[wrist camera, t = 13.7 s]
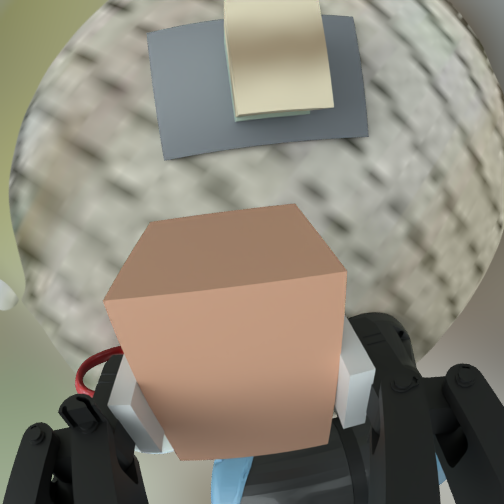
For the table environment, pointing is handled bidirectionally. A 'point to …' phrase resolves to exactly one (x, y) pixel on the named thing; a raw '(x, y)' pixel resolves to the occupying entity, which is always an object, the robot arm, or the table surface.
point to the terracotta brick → (233, 330)
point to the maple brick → (277, 56)
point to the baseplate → (210, 94)
